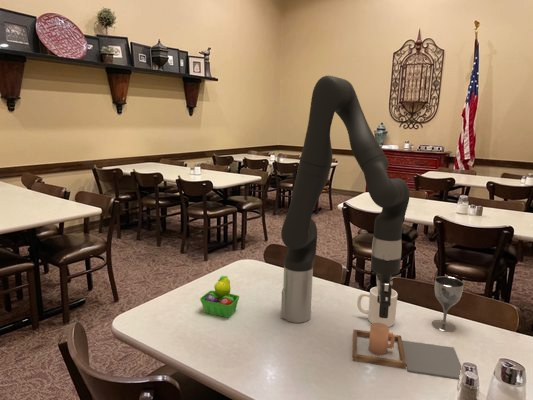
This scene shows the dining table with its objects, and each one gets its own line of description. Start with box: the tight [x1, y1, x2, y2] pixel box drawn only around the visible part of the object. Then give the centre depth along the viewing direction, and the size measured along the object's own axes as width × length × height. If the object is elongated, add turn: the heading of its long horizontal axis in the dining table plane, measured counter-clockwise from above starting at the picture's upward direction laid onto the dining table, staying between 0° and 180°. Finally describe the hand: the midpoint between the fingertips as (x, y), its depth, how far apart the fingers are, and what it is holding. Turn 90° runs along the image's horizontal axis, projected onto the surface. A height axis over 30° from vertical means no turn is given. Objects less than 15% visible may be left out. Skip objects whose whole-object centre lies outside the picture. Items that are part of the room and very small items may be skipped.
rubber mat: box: [402, 339, 463, 380], centre depth 105 cm, size 14×14×1 cm
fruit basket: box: [199, 275, 240, 318], centre depth 128 cm, size 11×9×11 cm
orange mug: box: [368, 323, 396, 356], centre depth 108 cm, size 7×5×7 cm
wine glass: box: [431, 276, 465, 333], centre depth 121 cm, size 8×8×15 cm
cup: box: [356, 286, 399, 328], centre depth 124 cm, size 8×12×10 cm
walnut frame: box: [352, 328, 407, 370], centre depth 109 cm, size 14×14×2 cm
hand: (382, 309), depth 106 cm, fingers open, 8 cm apart
